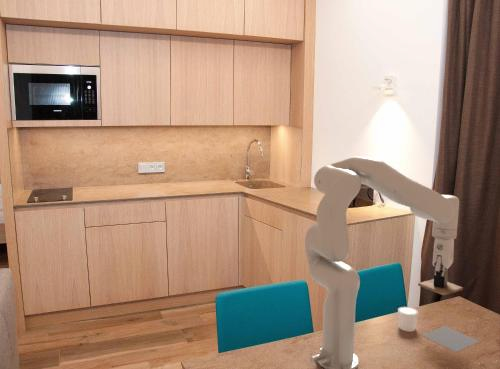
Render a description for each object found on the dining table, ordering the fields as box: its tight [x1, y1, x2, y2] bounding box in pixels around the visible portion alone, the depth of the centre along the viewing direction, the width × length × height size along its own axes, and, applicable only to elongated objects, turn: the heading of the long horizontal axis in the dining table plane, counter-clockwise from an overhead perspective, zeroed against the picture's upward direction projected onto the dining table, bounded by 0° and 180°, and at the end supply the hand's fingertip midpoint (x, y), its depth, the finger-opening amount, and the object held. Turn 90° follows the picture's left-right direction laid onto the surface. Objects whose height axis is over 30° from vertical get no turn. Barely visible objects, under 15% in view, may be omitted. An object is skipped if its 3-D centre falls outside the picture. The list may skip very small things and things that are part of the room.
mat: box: [421, 325, 480, 353], centre depth 154 cm, size 13×13×1 cm
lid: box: [417, 269, 464, 296], centre depth 153 cm, size 10×10×6 cm
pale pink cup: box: [397, 306, 419, 332], centre depth 162 cm, size 7×7×7 cm
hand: (440, 284), depth 154 cm, fingers closed on lid, 4 cm apart
